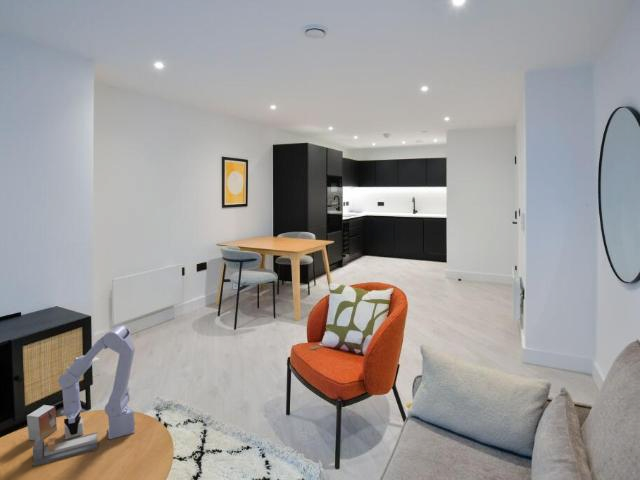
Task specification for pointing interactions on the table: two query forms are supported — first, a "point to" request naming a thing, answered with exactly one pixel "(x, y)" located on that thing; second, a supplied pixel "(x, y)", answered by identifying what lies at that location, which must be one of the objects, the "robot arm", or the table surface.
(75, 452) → the rail board
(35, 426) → the small box
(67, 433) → the block
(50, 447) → the orange block
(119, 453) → the table surface
